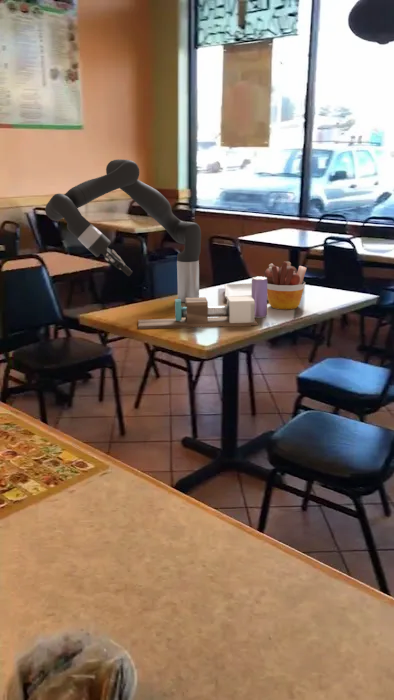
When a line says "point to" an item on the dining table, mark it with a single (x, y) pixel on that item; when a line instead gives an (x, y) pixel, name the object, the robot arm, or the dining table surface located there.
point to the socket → (241, 309)
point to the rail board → (191, 318)
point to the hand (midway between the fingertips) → (130, 274)
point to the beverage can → (260, 296)
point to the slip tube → (212, 311)
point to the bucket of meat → (285, 286)
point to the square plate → (238, 290)
